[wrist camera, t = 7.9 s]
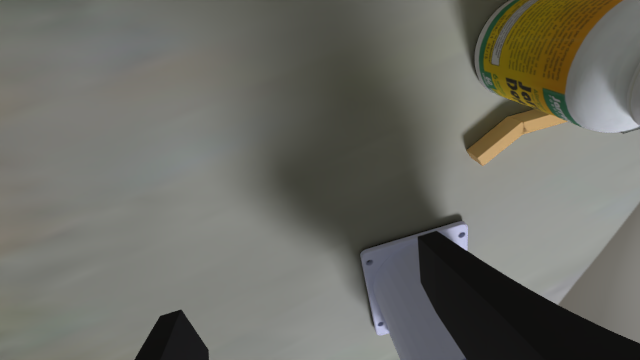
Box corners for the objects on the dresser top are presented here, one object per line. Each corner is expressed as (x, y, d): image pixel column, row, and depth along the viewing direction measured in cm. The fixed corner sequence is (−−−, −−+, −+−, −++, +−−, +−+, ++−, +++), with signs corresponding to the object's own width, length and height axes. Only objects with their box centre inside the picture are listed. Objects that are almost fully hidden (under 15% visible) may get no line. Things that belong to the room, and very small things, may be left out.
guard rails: (576, 128, 22) (592, 134, 21) (466, 159, 22) (477, 167, 20) (624, -113, 16) (650, -121, 15) (469, -76, 15) (486, -82, 14)
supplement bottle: (577, 14, 18) (849, 24, 10) (521, 105, 20) (708, 176, 12) (505, -27, 17) (761, -55, 8) (452, 77, 19) (614, 137, 10)
